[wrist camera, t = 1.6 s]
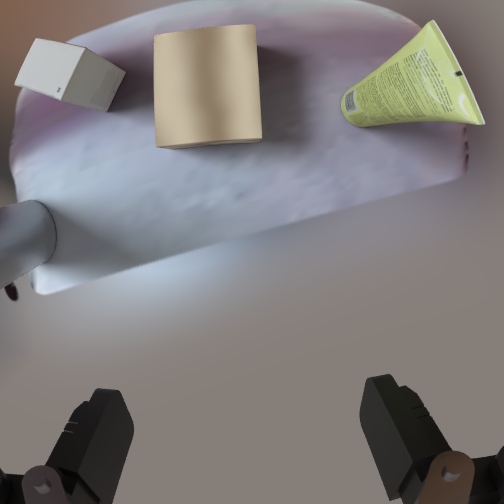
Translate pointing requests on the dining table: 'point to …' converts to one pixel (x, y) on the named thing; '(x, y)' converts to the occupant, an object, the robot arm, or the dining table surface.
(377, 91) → the tube
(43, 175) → the dining table surface
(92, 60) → the small box
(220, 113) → the birch block
